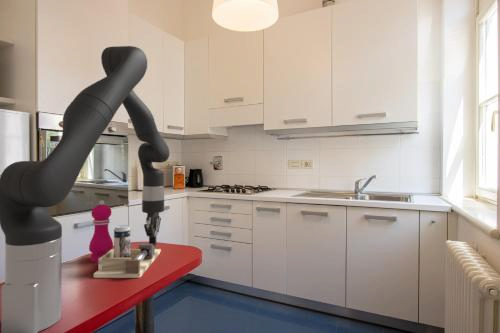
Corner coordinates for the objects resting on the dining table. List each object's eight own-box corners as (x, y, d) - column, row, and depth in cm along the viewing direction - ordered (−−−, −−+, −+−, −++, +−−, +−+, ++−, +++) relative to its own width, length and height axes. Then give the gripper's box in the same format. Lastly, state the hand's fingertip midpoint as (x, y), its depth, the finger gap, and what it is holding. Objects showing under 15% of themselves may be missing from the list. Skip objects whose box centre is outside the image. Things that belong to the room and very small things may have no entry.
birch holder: (140, 277, 82) (140, 257, 82) (93, 277, 81) (93, 257, 81) (160, 252, 105) (161, 236, 105) (124, 252, 104) (124, 236, 104)
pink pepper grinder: (84, 259, 95) (85, 200, 95) (105, 254, 101) (106, 198, 101) (95, 264, 91) (96, 202, 91) (117, 258, 97) (117, 200, 97)
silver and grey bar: (141, 269, 83) (141, 258, 83) (127, 269, 83) (127, 258, 83) (154, 253, 97) (154, 244, 97) (142, 253, 97) (142, 244, 97)
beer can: (123, 268, 85) (124, 228, 85) (109, 267, 86) (110, 227, 86) (133, 263, 90) (134, 225, 90) (120, 261, 91) (120, 224, 91)
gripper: (159, 201, 95) (158, 252, 96) (168, 196, 109) (167, 241, 109) (136, 201, 95) (135, 252, 95) (148, 196, 108) (147, 241, 108)
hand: (152, 246), depth 102 cm, fingers closed
